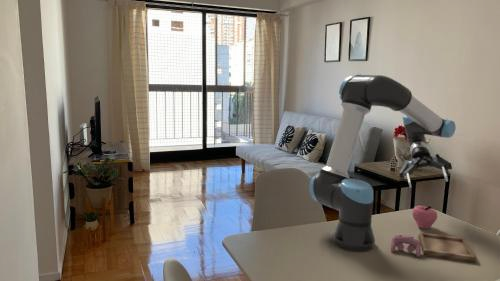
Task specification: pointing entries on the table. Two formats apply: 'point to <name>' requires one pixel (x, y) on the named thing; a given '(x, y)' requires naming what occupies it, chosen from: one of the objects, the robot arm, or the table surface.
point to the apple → (424, 216)
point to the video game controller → (406, 239)
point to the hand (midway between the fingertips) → (427, 181)
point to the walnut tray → (446, 247)
